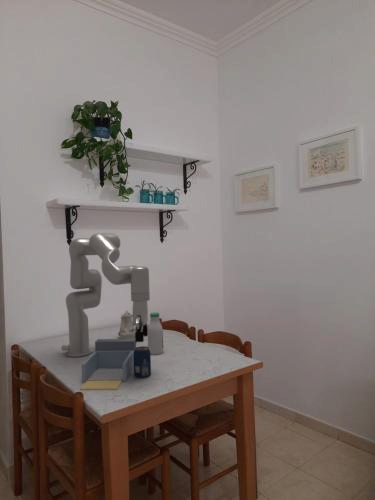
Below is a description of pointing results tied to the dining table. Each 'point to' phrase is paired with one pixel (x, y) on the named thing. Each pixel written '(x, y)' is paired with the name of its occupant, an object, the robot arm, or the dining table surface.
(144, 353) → the soda can
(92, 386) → the panel
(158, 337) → the milk bottle
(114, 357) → the truck bed
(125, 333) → the chinaware
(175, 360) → the dining table surface
